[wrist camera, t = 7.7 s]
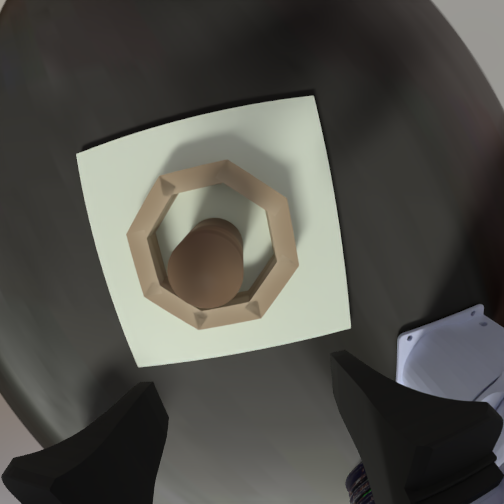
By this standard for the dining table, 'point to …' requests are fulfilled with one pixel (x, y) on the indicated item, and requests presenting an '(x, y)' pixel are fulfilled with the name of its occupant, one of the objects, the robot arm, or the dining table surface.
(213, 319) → the ring collar
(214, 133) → the sage board
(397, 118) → the dining table surface
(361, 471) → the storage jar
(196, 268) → the walnut dowel
